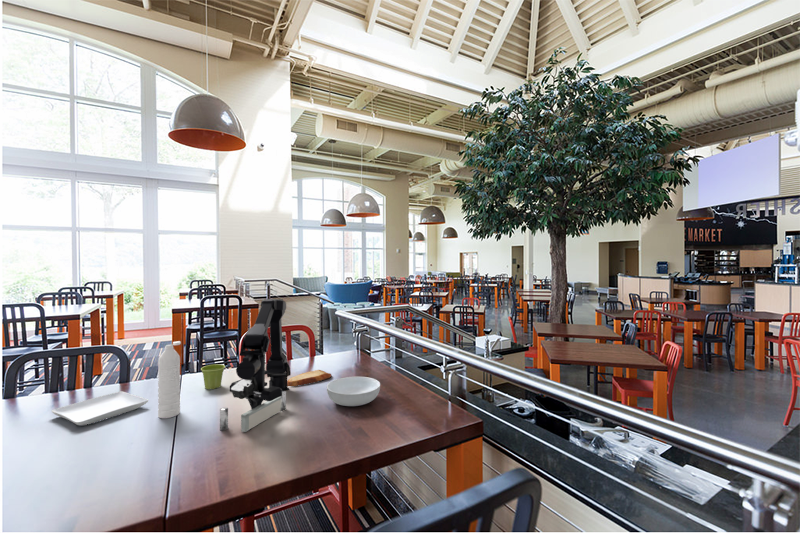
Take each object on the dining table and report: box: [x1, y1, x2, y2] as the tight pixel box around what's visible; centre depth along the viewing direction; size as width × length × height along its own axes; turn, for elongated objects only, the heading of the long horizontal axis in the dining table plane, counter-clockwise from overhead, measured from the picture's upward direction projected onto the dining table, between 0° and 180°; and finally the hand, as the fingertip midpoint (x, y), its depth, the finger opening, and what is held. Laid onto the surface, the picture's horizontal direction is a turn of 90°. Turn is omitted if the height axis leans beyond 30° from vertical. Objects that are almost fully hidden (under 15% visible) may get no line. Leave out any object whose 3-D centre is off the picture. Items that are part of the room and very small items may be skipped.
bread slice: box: [287, 369, 332, 387], centre depth 161 cm, size 18×18×4 cm
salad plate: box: [51, 390, 149, 426], centre depth 125 cm, size 21×21×3 cm
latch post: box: [219, 406, 229, 431], centre depth 113 cm, size 2×2×6 cm
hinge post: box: [280, 390, 287, 412], centre depth 128 cm, size 2×2×6 cm
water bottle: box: [157, 340, 182, 419], centre depth 125 cm, size 9×6×25 cm
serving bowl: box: [326, 376, 381, 407], centre depth 136 cm, size 21×21×7 cm
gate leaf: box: [240, 397, 282, 433], centre depth 118 cm, size 17×2×5 cm, turn 159°
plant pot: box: [200, 363, 226, 390], centre depth 151 cm, size 9×9×9 cm
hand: (255, 414), depth 119 cm, fingers closed
